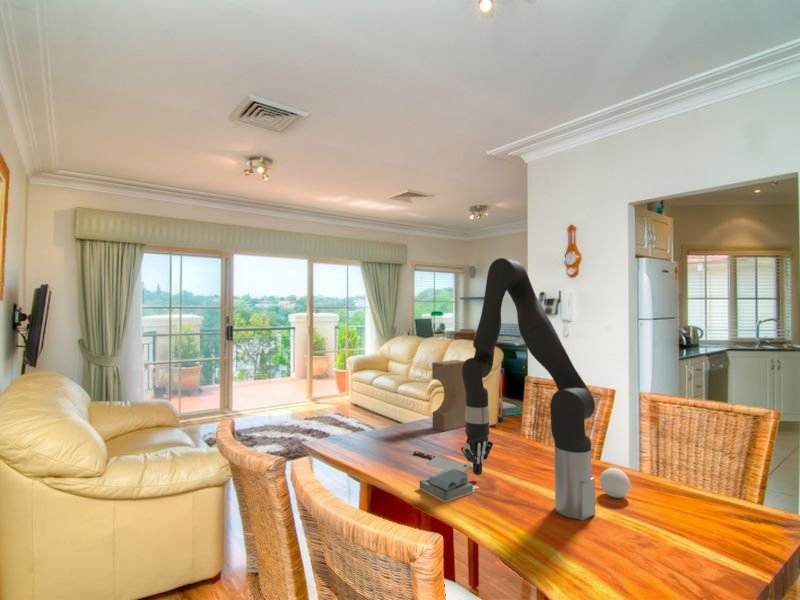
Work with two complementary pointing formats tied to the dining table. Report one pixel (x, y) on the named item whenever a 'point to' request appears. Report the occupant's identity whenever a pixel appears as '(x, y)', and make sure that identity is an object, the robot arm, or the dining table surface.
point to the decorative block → (450, 395)
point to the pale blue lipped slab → (449, 479)
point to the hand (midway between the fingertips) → (477, 474)
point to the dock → (447, 495)
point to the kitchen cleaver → (443, 462)
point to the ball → (615, 483)
